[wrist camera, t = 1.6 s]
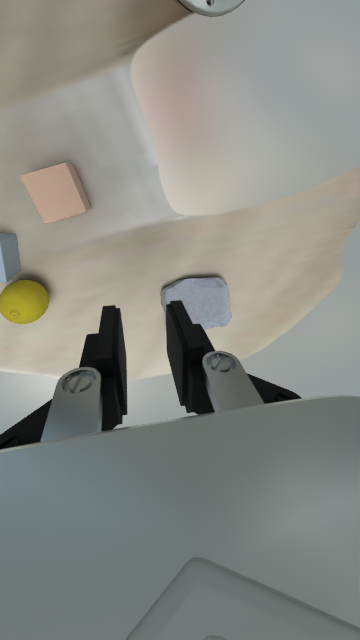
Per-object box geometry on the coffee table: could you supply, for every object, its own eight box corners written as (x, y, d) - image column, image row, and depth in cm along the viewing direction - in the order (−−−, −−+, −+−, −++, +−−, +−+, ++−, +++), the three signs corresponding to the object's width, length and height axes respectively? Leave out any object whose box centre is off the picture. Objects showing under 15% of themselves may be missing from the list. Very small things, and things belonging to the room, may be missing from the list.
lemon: (5, 292, 35) (-22, 318, 29) (26, 264, 34) (2, 285, 27) (42, 312, 38) (24, 341, 31) (62, 288, 37) (48, 312, 30)
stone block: (155, 282, 41) (168, 334, 45) (158, 287, 37) (172, 344, 40) (219, 266, 43) (227, 317, 46) (229, 268, 38) (237, 325, 42)
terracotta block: (34, 176, 29) (19, 175, 25) (73, 165, 30) (65, 162, 25) (55, 218, 32) (45, 224, 28) (91, 207, 32) (86, 211, 28)
